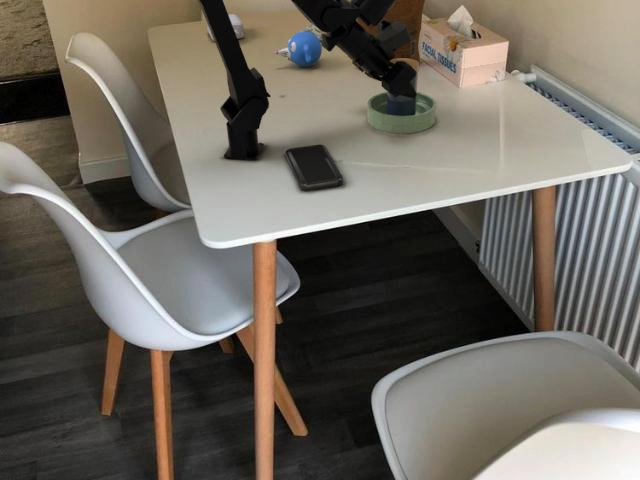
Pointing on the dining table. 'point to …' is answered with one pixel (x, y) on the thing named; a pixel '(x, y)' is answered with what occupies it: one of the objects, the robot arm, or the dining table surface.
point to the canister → (403, 103)
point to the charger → (236, 25)
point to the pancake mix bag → (411, 16)
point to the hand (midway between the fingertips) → (408, 90)
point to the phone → (313, 167)
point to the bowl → (401, 123)
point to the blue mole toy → (302, 49)
